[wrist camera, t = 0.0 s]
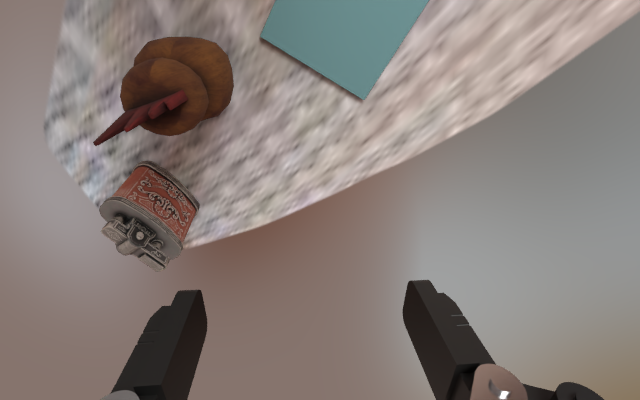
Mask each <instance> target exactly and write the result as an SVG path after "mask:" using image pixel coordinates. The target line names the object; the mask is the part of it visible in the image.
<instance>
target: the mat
mask: <svg viewBox="0 0 640 400" xmlns="http://www.w3.org/2000/svg"><path fill="white" fill-rule="evenodd" d="M428 1H429V0H276V1H275V3H274V5H273V8H272V10H271V12H270V15H269V17H268V19H267V22H266V24H265V26H264V29H263V31H262V33H261V36H260V37H262V38H263V39H265V40H267V41H268V42H270V43H271V44H273V45H275V46H276V47H278V48H280V49H281V50H283V51H284V52H286V53H288V54H289V55H291V56H293V57H294V58H296V59H298V60H299V61H301V62H302V63H304V64H306V65H307V66H309V67H311V68H312V69H314V70H315V71H317V72H319V73H320V74H322V75H324V76H325V77H327V78H329V79H330V80H332V81H333V82H335V83H337V84H338V85H340V86H342V87H343V88H345V89H346V90H348V91H350V92H351V93H353V94H355V95H356V96H358V97H360V98H361V99H363V100H364V99H365V98H366V96H367V95H368V93H369V92H370V90H371V89H372V87H373V86H374V84H375V83H376V81H377V79H378V78H379V76H380V75H381V73H382V72H383V70H384V69H385V67H386V66H387V64H388V63H389V61H390V59H391V58H392V56H393V55H394V53H395V52H396V50H397V49H398V47H399V46H400V44H401V43H402V41H403V39H404V38H405V36H406V35H407V33H408V32H409V30H410V29H411V27H412V26H413V24H414V23H415V21H416V19H417V18H418V16H419V15H420V13H421V12H422V10H423V9H424V7H425V6H426V4H427V3H428Z"/></svg>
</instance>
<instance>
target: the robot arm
mask: <svg viewBox="0 0 640 400" xmlns="http://www.w3.org/2000/svg"><path fill="white" fill-rule="evenodd" d="M403 319H404V324H405V326H406V329H407V331H408V334H409V336H410V338H411V341H412V343H413V346H414V348H415V350H416V353H417V355H418V358H419V360H420V362H421V365H422V367H423V369H424V372H425V374H426V376H427V379H428V381H429V384H430V386H431V388H432V391H433V393H434V396H435V398H436V400H604V399H603V398H602V397H600V396H599V395H598V394H596V393H595V392H594V391H592V390H590V389H588V388H587V387H584V386H582V385H580V384H576V383H571V382H564V383H561V384H560V385H559V386H558V387H557V389H556V391H555V392H554V391H550V390H545V389H541V388H537V387H533V386H529V385H526V384H523V383H521V382H520V380H519V379H518V378H517V377H516V376H515V375H513V374H512V373H511V372H510V371H508V370H507V369H505V368H503V367H501V366H498V365H496V364H495V362H494V361H493V359H492V358H491V356H490V355H489V353H488V352H487V350H486V349H485V347H484V346H483V344H482V343H481V341H480V340H479V338H478V337H477V335H476V333H475V332H474V331H473V329H472V327H471V326H469V323H468V321H467V320H466V318H465V317H464V316H463V314H462V312H461V311H460V309H459V307H458V306H457V305H456V303H455V302H454V301H453V300H452V299H450V298H449V297H448V296H447V295H446V294H444V293H437V291H436V289H435V288H434V286H433V285H432V283H431V282H430V281H429V280H418V281H409V282H408V285H407V290H406V296H405V301H404V306H403ZM206 332H207V316H206V312H205V306H204V301H203V297H202V292H201V290H184V291H178V292H177V294H176V296H175V298H174V300H173V302H172V304H171V306H162V307H161V308H160V309H159V310H158V311H157V312H156V313H155V314H154V315H153V316H152V317H151V318H150V320H149V321H148V323H147V325H146V327H145V329H144V331H143V334H142V335H141V337H140V338H139V341H138V344H137V345H136V346H135V348H134V350H133V352H132V354H131V356H130V358H129V360H128V362H127V363H126V366H125V367H124V369H123V371H122V373H121V375H120V377H119V379H118V381H117V383H116V385H115V386H114V388H113V390H112V392H111V393H110V394H109V395H107V396H105V397H103V398H102V399H100V400H187V398H188V395H189V392H190V388H191V385H192V381H193V378H194V375H195V371H196V368H197V364H198V361H199V358H200V354H201V351H202V347H203V344H204V341H205V337H206Z"/></svg>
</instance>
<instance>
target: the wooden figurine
mask: <svg viewBox="0 0 640 400" xmlns="http://www.w3.org/2000/svg"><path fill="white" fill-rule="evenodd" d="M233 87H234V83H233V74H232V68H231V65H230V61H229V58H228V55H227V54H226V53H225V52H224V51H223V50H222V49H221V48H220V47H219V46H218V45H217V44H216V43H214V42H210V41H207V40H205V39H201V38H192V37H167V38H162V39H157V40H153V41H150V42H148V43H147V44H146V45H145V46H144V47H143V49H142V50H141V51H140V52H139V54H138V55H137V56H136V58H135V60H134V67H133V68H131V69H130V70H129V72H128V73H127V74H126V76H125V77H124V78H123V81H122V87H121V94H120V98H121V102H122V105H123V109H124V111H125V113H123V114H122V115H121V116H120V117H119V118H118V119H117V120H116V121H115V122H114V123H113V124H112V125H111V126H110V127H109V128H108V129H107V130H106V131H105V132H104V133H102V134H101V135H100V136H99V137H98V138H97V139H96V140H95V141H94V142H93V143H94V145H95V146H97V145H99V144H101V143H103V142H105V141H106V140H108V139H110V138H112V137H114V136H115V135H117V134H119V133H121V132H122V131H124V130H125V131H126V132H128V131H130V130H132V129H134V128H135V127H137V126H139V125H140V126H141V127H143V128H144V129H146V130H149V131H151V132H154V133H156V134H160V135H166V136H173V135H179V134H182V133H185V132H187V131H189V130H191V129H193V128H194V127H195V126H196V125H197V124H198V123H199V122H200V121H202V120H205V119H208V118H212V117H216V116H218V115H219V114H220V113H221V112H222V111H223V110H224V109H225V108H226V107H227V106H228V104H229V103H230V100H231V96H232V91H233Z"/></svg>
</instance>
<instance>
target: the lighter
mask: <svg viewBox="0 0 640 400" xmlns="http://www.w3.org/2000/svg"><path fill="white" fill-rule="evenodd" d="M198 210H199V203H198V201H197V200H196V199H195V197H194V196H193V195H192V194H191V192H190V191H189V190H188V189H187V188H186V187H185V186H184V185H183V184H182V183H181V182H180V181H179V180H177V179H176V178H175V177H174V176H173V175H171V174H170V173H169V172H168V171H166V170H165V169H163V168H162V167H160V166H159V165H157V164H156V163H154V162H152V161H141V162H139V163H138V164H137V165H136V167H135V168H134V169H133V171H132V174H131V175H130V176H129V177H128V179H127V180H126V181H125V182H124V183H123V184H122V186H121V187H120V188H119V189H118V190H117V191H116V192H115V194H114V195H113V196H112V197H110V198H108V199H107V200H106V201H105V202H104V203H103V204H102V205H101V206H100V209H99V211H100V214H101V216H102V217H103V218H104V219H105V220H106V221H107V222H108V223H107V224H106V225H105V226H104V228H103V229H102V230H101V233H102V234H103V235H104V236H106V237H107V238H109V239H110V240H112V241H113V242H115V244H116V248H117V250H118V252H120V253H121V254H123V255H129V254H132V255H134V256H135V257H137V258H138V259H139V260H140V261H142V262H143V263H144V264H146V265H147V266H149V267H150V268H152V269H153V270H155V271H157V272H160V271H163V270H164V269H166V267H167V265H168V263H169V260H171V259H175V258H177V257H178V256H179V255H180V253H181V251H182V249H183V241H184V239H185V237H186V234H187V232H188V229H189V227H190V225H191V222H192V220H193V218H194V216H196V214H197V212H198Z"/></svg>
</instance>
